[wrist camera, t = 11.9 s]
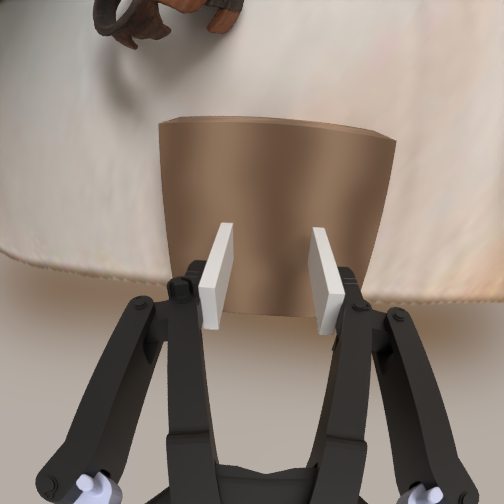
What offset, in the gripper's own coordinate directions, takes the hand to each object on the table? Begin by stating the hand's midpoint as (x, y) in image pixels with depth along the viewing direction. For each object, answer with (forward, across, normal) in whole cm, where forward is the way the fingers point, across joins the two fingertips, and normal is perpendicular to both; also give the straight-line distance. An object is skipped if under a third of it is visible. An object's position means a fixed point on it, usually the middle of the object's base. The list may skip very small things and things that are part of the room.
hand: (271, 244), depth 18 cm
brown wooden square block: (+6, 0, 0) cm, 6 cm away
